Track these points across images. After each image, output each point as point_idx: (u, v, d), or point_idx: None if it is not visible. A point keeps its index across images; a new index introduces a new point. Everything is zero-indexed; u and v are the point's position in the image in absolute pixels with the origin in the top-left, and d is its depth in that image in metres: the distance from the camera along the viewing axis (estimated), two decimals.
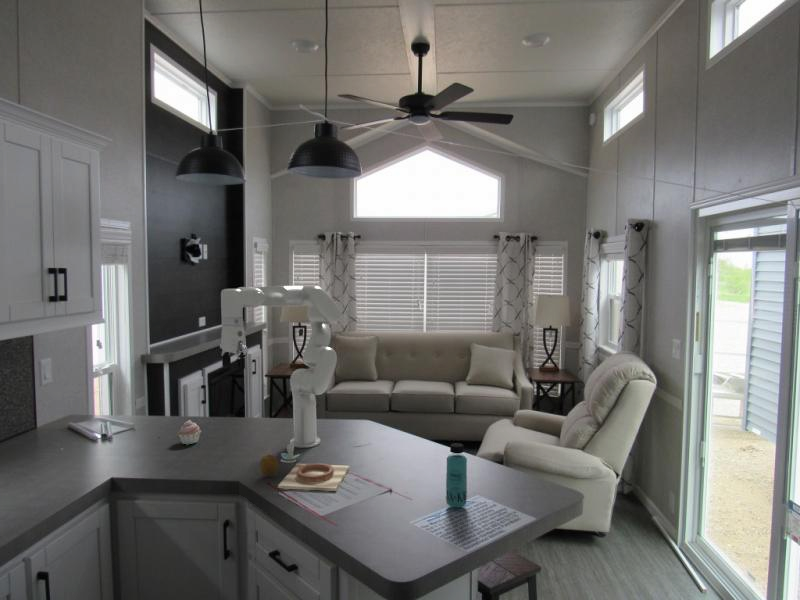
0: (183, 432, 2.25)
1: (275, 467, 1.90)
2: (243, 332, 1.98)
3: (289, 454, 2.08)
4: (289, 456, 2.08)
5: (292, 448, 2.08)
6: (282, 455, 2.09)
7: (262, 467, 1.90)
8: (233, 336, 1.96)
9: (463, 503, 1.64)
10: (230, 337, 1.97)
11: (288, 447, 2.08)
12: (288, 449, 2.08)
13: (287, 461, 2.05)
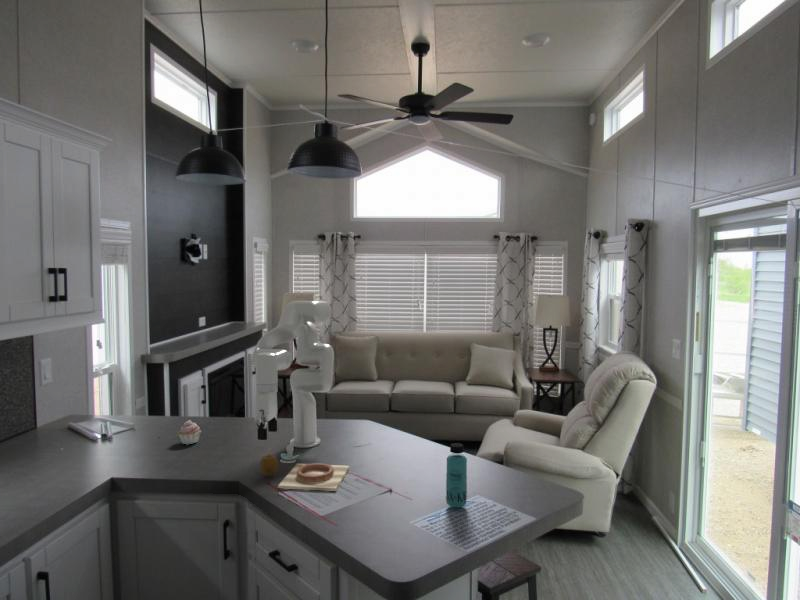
0: (183, 432, 2.25)
1: (275, 467, 1.90)
2: None
3: (289, 454, 2.08)
4: (289, 456, 2.08)
5: (292, 448, 2.08)
6: (282, 455, 2.08)
7: (262, 467, 1.90)
8: (276, 398, 1.94)
9: (463, 503, 1.64)
10: (276, 401, 1.92)
11: (288, 447, 2.08)
12: (288, 449, 2.08)
13: (286, 461, 2.05)
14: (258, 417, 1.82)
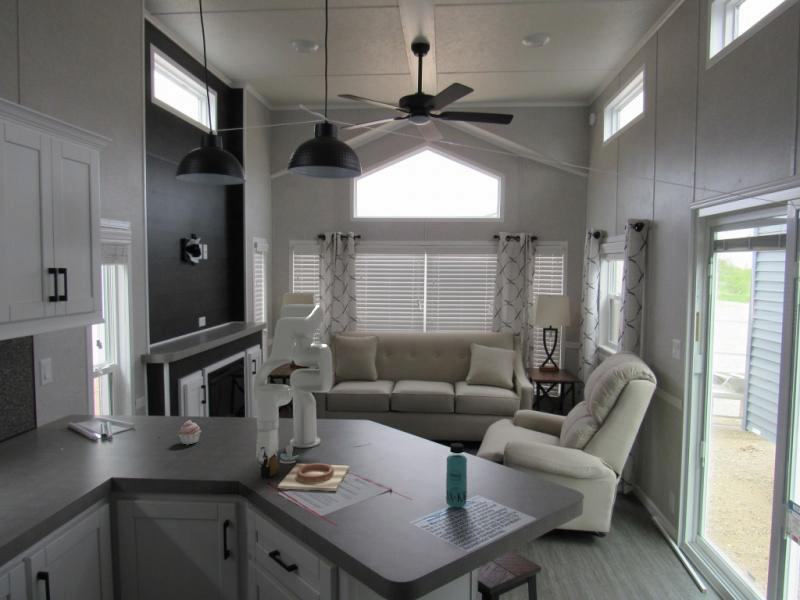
0: (183, 432, 2.25)
1: (275, 467, 1.90)
2: None
3: (288, 455, 2.07)
4: (288, 457, 2.07)
5: (291, 449, 2.07)
6: (281, 456, 2.08)
7: None
8: None
9: (463, 503, 1.64)
10: (277, 436, 1.93)
11: (287, 448, 2.08)
12: (287, 450, 2.07)
13: (286, 462, 2.04)
14: (260, 458, 1.84)
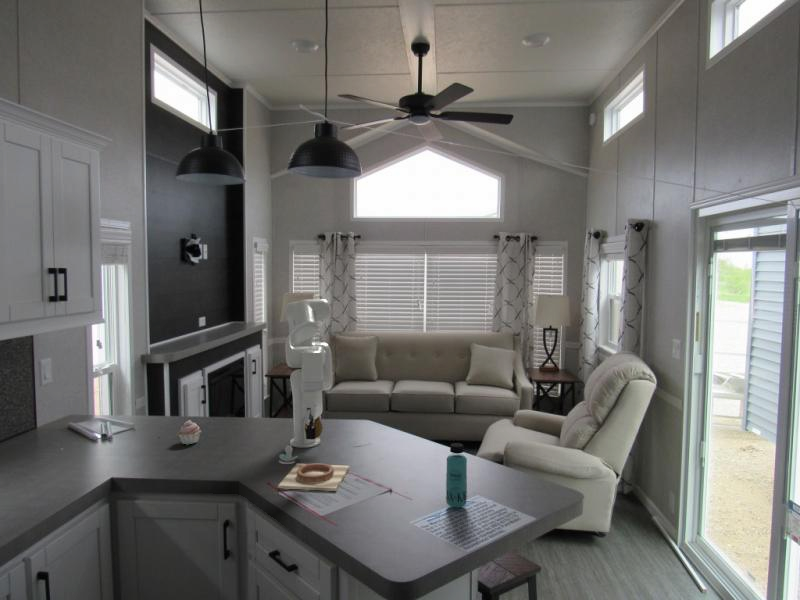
0: (183, 432, 2.25)
1: (320, 429, 1.87)
2: None
3: (287, 455, 2.07)
4: (287, 457, 2.07)
5: (290, 449, 2.07)
6: (280, 456, 2.07)
7: None
8: None
9: (463, 503, 1.64)
10: (321, 398, 1.90)
11: (286, 448, 2.07)
12: (286, 450, 2.07)
13: (285, 462, 2.04)
14: (306, 419, 1.81)
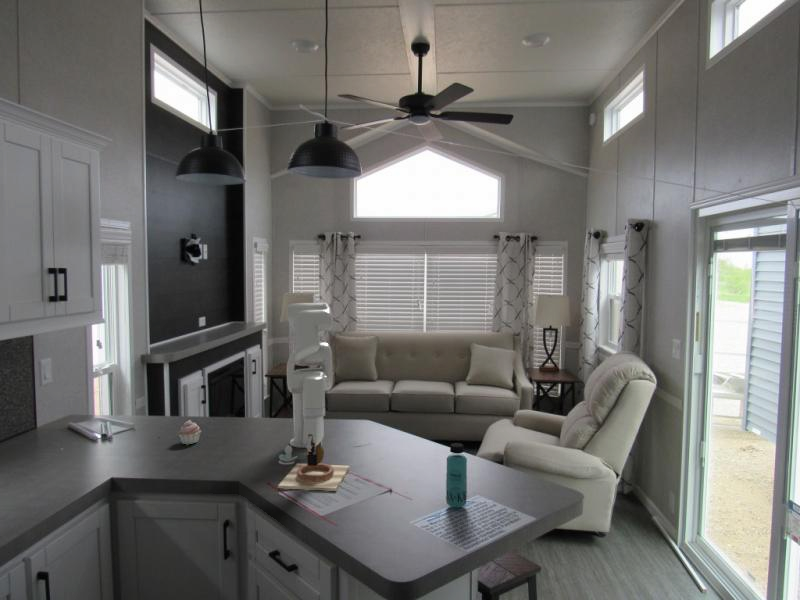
0: (183, 432, 2.25)
1: (321, 455, 1.88)
2: None
3: (287, 456, 2.06)
4: (287, 458, 2.07)
5: (290, 450, 2.06)
6: (280, 457, 2.07)
7: None
8: None
9: (463, 503, 1.64)
10: (322, 424, 1.91)
11: (286, 449, 2.07)
12: (286, 451, 2.06)
13: (285, 463, 2.03)
14: (308, 445, 1.82)
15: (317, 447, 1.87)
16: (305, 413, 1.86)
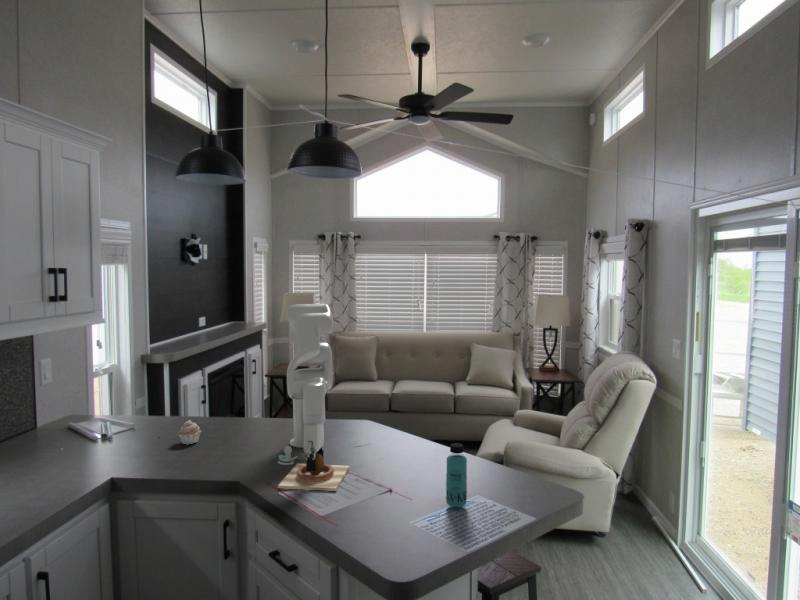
0: (183, 432, 2.25)
1: (321, 465, 1.88)
2: None
3: (287, 456, 2.06)
4: (287, 458, 2.06)
5: (290, 450, 2.06)
6: (279, 457, 2.06)
7: None
8: (323, 427, 1.93)
9: (463, 503, 1.64)
10: (323, 430, 1.91)
11: (286, 449, 2.06)
12: (286, 451, 2.06)
13: (284, 463, 2.03)
14: (308, 449, 1.81)
15: (317, 458, 1.88)
16: (305, 419, 1.86)
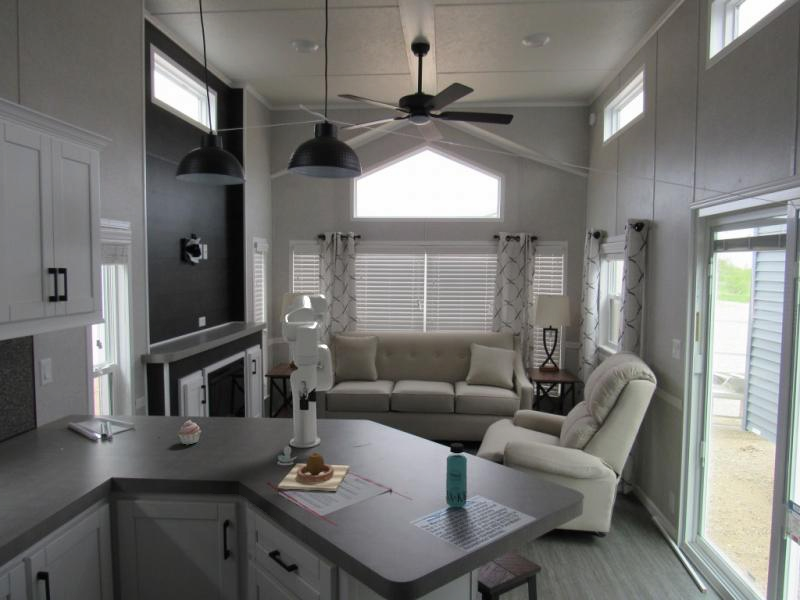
0: (183, 432, 2.25)
1: (321, 465, 1.88)
2: None
3: (286, 456, 2.06)
4: (286, 458, 2.06)
5: (289, 450, 2.05)
6: (279, 457, 2.06)
7: (309, 465, 1.88)
8: None
9: (463, 503, 1.64)
10: (315, 372, 1.97)
11: (285, 449, 2.06)
12: (285, 451, 2.06)
13: (284, 464, 2.02)
14: (301, 388, 1.87)
15: (317, 458, 1.88)
16: (298, 361, 1.92)
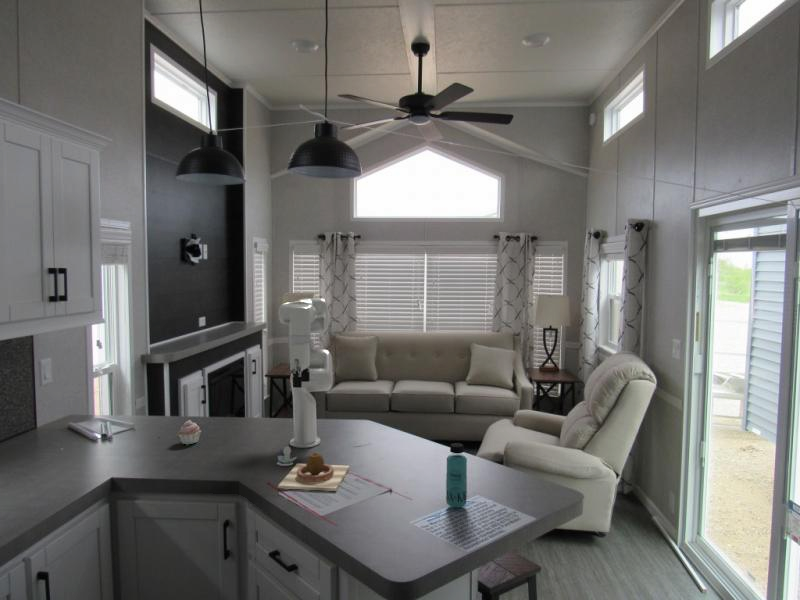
0: (183, 432, 2.25)
1: (321, 465, 1.88)
2: None
3: (286, 457, 2.05)
4: (286, 459, 2.05)
5: (289, 451, 2.05)
6: (279, 458, 2.06)
7: (309, 465, 1.88)
8: (309, 350, 2.06)
9: (463, 503, 1.64)
10: (308, 352, 2.04)
11: (285, 450, 2.05)
12: (285, 452, 2.05)
13: (284, 464, 2.02)
14: (294, 365, 1.94)
15: (317, 457, 1.88)
16: (292, 340, 1.99)
